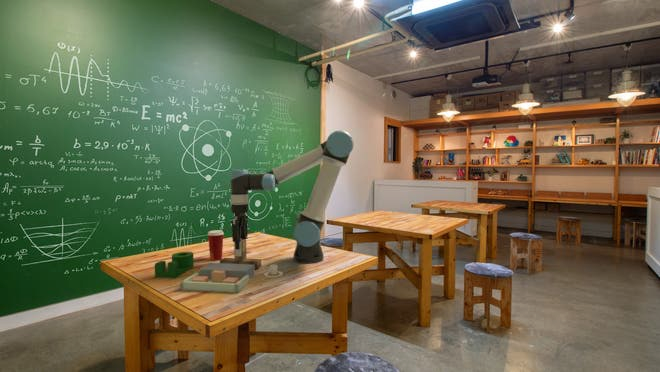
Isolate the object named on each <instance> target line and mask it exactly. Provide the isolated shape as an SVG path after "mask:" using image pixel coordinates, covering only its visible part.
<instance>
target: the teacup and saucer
mask: <svg viewBox="0 0 660 372" xmlns="http://www.w3.org/2000/svg"><path fill="white" fill-rule="evenodd" d="M267 270H268V271H267V272H265V273H264V274H263V275H264V277H268V278H278V277H281V276H282V275H283V274H284V273H283V272H282V271H279V270H278V264H271V265H270V266H269V268H268V269H267ZM277 273H279V274H278V275H277ZM268 274H271V275H272V276H271V275H268Z"/></svg>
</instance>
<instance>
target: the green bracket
mask: <svg viewBox="0 0 660 372" xmlns="http://www.w3.org/2000/svg"><path fill="white" fill-rule="evenodd" d="M194 261H195V260H194V252H192V251H182V252H176V253H172V254H171V261H169V262H166V260H159V261H157V262H155V263H154V278H166V279H169V278H170V279H176V278H177V277H178V278H179V276H182V275H183V274H184V273H186V272H188V271H190V270H191V269H193V268H194V266H195V265H194ZM166 263H167V265H166ZM166 266H167V267H166Z"/></svg>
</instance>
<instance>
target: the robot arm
mask: <svg viewBox="0 0 660 372" xmlns="http://www.w3.org/2000/svg"><path fill="white" fill-rule="evenodd" d="M354 144H355V143H354V139H353V137H352V136H351V134H350V133H349V132H347V131H344V130H335V131H333V132H331V133H330V134H329V136H328V137H327V139H326V140H325V141H324V142H321V143H320V144H318V146H317V148H314V149H312V150H309V151H307V152H306V153H304V154H302V155H300V156H298V157H296V158H294V159H291V160H290V161H287V162H286V163H284V164H282V165H279V166H278V167H275V168H273V169H271V170H269V171H266V172H265V173H249V171H248V170H247V169H232V170H231V171H230V202H231V205H230V208H231V209H230V211H231V213H233V214H234V217H233V219H231V221H230V222H231V234H232V235H231V237H232V242H233V243H234V242H235V256H242V248H241V242H240V240H241V239H246V240H248V238H249V237H248V230H249V228H248V227H249V226H248V220H249V215H246V213H248V212H249V191H266V192H267V191H273V190H275V189H276V188H275V187H276V186H278V185H280V184H281V183H283V182H285V181H287V180H290V179H291V178H294V177H296V176H298V175H300V174H301V173H303V172H306V171H308V170H310V169H312V168H315V167H316V166H319V165H320V164H321V166H320V168H319V172H318V175H317V177H316V180H315V183H314V185H313V187H312V191H311V194H310V196H309V199H308V202H307V204H306V207H305V209H304V210H303V211H302V210H301V212H300V213H297V215H296V225H295V227H294V229H293V233H292V234H293V238H294V240H295V242H296V245H295V249H294V251H293V258H292V259H293V261H294V262H296V263H300V264H315V263H319V262H322V261H324V257H325V256H324V252H323V247H322V246H321V232H322V231H323V227H324V224H325V221H326V220H325V217H324V215H325V212H326V209H327V206H328V205H329V202H330V199H331V196H332V193H333V190H334V187H335V185H336V184H337V183H336V182H337V180H338V178H339V177H338V176H339V175H340V172H341V169H342V167H344V166H346V165H347V162H348V160H349V157H350V155H351V153H352V151H353V150H354Z"/></svg>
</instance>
